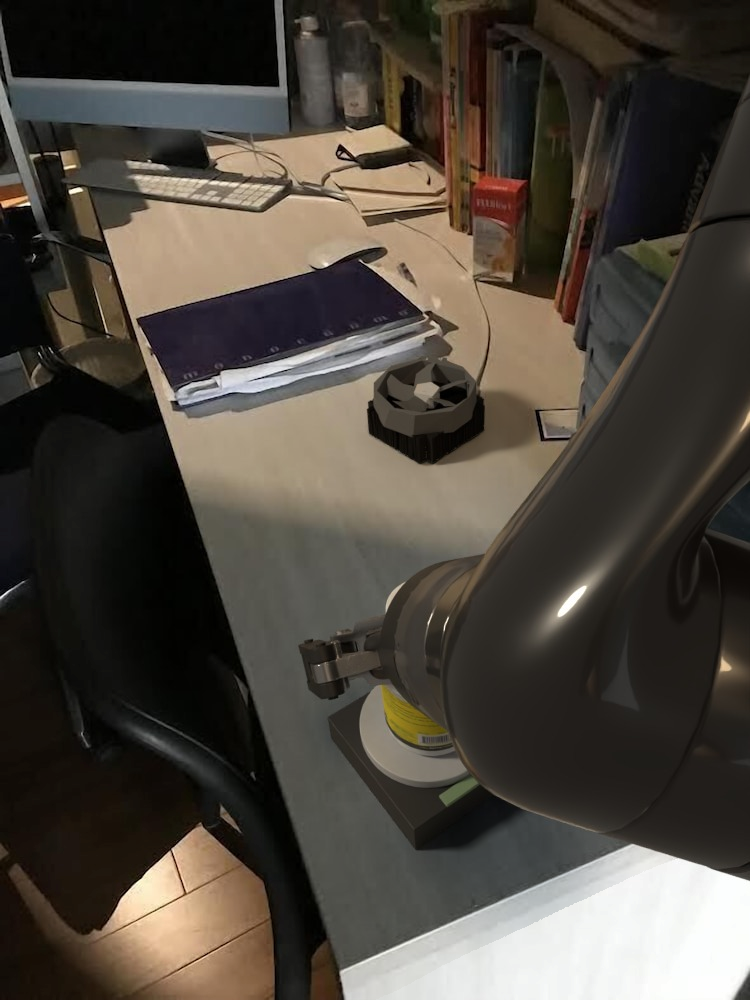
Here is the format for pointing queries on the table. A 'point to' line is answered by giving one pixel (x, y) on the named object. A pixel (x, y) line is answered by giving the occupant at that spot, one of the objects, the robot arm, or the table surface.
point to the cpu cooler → (425, 408)
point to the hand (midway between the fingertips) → (413, 630)
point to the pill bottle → (412, 721)
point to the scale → (404, 772)
